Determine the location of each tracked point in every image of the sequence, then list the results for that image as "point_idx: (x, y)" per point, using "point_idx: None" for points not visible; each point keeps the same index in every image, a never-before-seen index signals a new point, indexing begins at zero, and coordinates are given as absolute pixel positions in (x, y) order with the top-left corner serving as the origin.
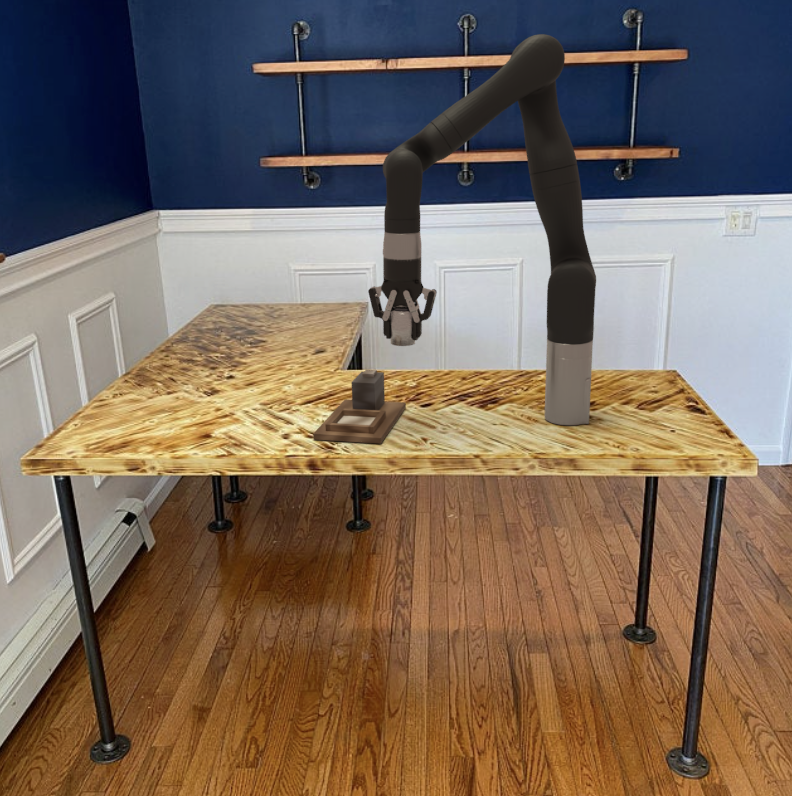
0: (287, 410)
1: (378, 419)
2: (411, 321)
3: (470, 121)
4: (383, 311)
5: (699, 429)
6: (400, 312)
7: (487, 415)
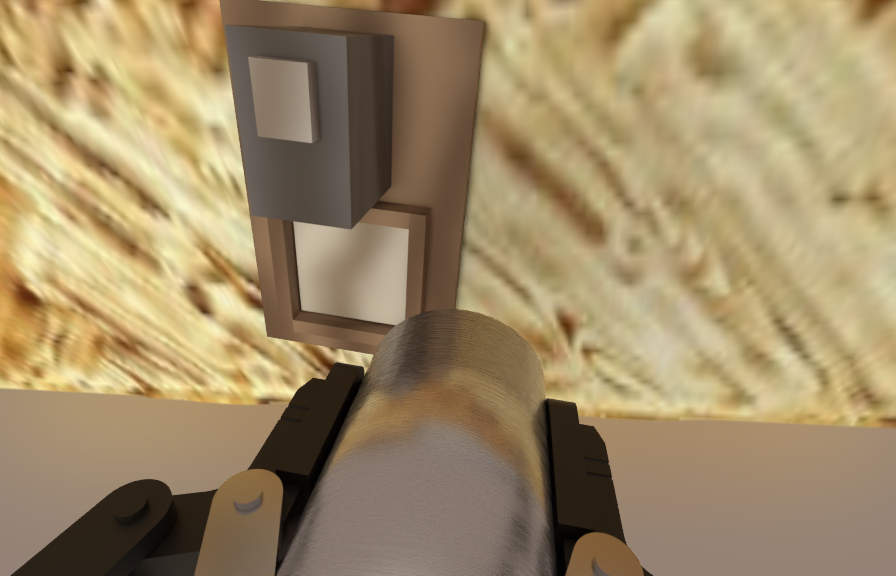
0: (74, 82)
1: (419, 296)
2: None
3: None
4: (181, 562)
5: None
6: None
7: (846, 92)
